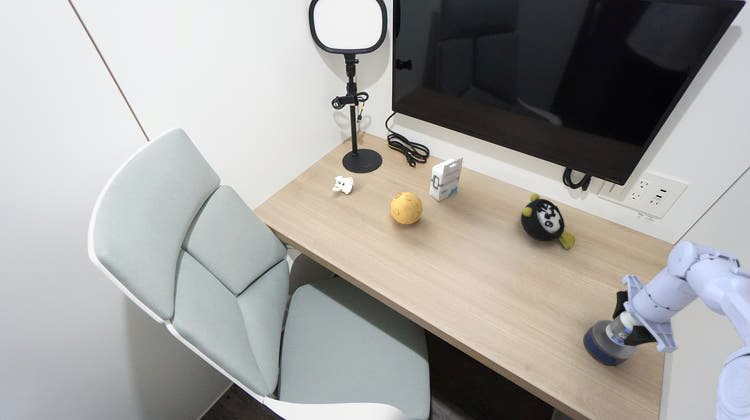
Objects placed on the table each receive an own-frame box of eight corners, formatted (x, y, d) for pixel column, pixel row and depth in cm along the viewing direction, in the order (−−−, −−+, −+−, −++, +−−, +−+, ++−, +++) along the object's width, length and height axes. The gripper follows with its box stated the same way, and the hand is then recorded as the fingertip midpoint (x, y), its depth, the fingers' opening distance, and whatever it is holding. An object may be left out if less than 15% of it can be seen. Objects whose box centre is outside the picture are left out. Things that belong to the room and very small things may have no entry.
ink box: (446, 185, 111) (453, 149, 101) (456, 192, 108) (464, 157, 98) (428, 194, 108) (433, 158, 98) (438, 202, 105) (444, 166, 95)
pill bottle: (610, 344, 64) (632, 325, 58) (602, 322, 67) (622, 303, 61) (635, 348, 63) (661, 329, 57) (626, 326, 67) (649, 306, 61)
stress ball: (394, 206, 104) (394, 183, 97) (423, 211, 102) (426, 188, 95) (386, 227, 97) (387, 204, 90) (418, 233, 95) (421, 210, 88)
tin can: (633, 359, 68) (647, 349, 64) (604, 372, 66) (616, 364, 63) (602, 324, 74) (613, 314, 70) (574, 336, 72) (584, 326, 68)
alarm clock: (541, 263, 91) (535, 234, 81) (516, 228, 101) (509, 198, 92) (582, 247, 88) (581, 215, 79) (553, 212, 99) (549, 180, 89)
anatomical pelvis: (335, 172, 112) (353, 171, 111) (337, 181, 114) (355, 180, 114) (331, 186, 106) (350, 185, 105) (333, 196, 109) (352, 195, 108)
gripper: (622, 260, 60) (589, 297, 69) (662, 333, 50) (617, 365, 59) (661, 263, 59) (623, 300, 69) (711, 338, 49) (658, 370, 58)
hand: (623, 330), depth 64 cm, fingers closed on pill bottle, 5 cm apart
